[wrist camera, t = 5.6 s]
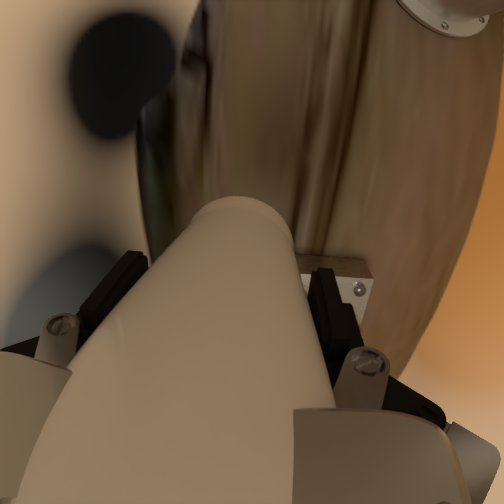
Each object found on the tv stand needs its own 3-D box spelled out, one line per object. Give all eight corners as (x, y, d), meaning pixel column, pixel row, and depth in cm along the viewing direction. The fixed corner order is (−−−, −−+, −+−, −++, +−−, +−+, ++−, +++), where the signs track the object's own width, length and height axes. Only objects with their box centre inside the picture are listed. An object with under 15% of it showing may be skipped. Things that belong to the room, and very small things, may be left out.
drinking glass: (166, 180, 15) (-85, 466, 1) (309, 176, 14) (431, 604, 1) (183, 297, 18) (87, 566, 4) (304, 299, 17) (322, 602, 4)
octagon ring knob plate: (248, 250, 32) (243, 277, 27) (363, 259, 32) (377, 287, 27) (241, 362, 39) (237, 394, 34) (333, 367, 39) (338, 399, 34)
